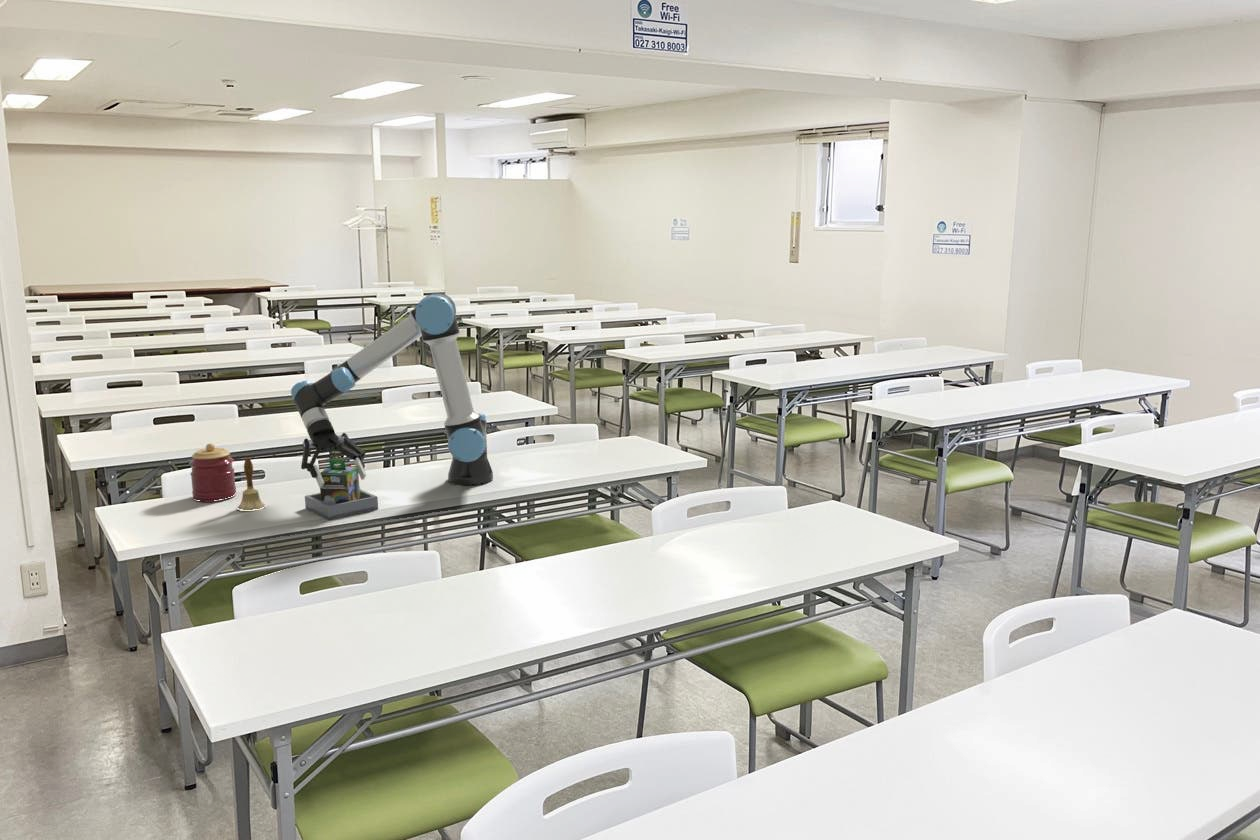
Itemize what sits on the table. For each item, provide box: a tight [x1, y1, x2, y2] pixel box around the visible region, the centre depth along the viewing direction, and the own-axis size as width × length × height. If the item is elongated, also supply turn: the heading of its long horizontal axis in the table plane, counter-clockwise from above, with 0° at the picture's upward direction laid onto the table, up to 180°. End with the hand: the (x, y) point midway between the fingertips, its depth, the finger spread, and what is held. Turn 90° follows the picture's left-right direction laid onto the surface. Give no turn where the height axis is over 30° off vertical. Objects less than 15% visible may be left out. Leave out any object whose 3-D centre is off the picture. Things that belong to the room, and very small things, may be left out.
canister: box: [188, 443, 237, 501], centre depth 309 cm, size 13×13×18 cm
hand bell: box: [237, 457, 266, 510], centre depth 297 cm, size 8×8×16 cm
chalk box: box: [319, 459, 361, 505], centre depth 296 cm, size 9×9×15 cm
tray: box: [304, 488, 379, 521], centre depth 297 cm, size 16×16×4 cm
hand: (343, 481), depth 294 cm, fingers open, 13 cm apart
